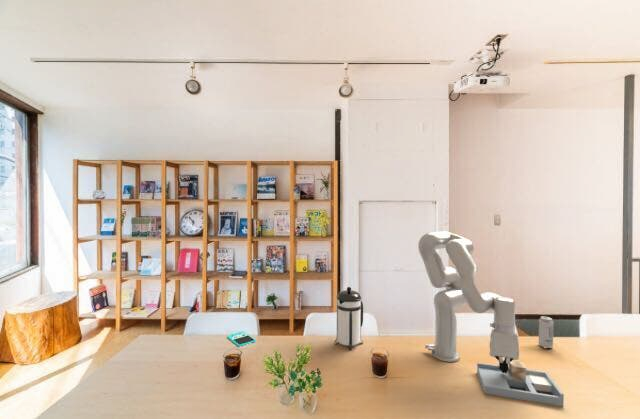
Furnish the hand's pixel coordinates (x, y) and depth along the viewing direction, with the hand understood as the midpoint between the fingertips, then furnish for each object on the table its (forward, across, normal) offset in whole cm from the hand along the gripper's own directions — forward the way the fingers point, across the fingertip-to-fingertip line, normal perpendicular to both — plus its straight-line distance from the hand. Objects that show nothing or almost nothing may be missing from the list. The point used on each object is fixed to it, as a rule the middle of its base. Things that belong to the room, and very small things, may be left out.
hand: (503, 371), depth 132 cm
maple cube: (+1, +5, 0) cm, 5 cm away
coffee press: (+4, -68, +15) cm, 70 cm away
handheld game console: (+4, -125, +2) cm, 125 cm away
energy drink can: (+4, +28, +43) cm, 51 cm away
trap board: (+4, +4, -4) cm, 7 cm away
